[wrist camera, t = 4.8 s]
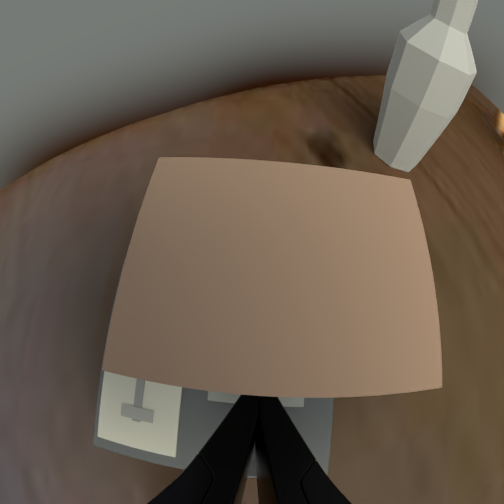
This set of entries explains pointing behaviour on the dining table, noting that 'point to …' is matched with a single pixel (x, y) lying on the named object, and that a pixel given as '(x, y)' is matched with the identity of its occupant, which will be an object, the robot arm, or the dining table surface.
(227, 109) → the dining table surface
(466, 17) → the faceted bottle
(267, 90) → the dining table surface
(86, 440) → the dining table surface
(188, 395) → the switch unit
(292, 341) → the slider knob
